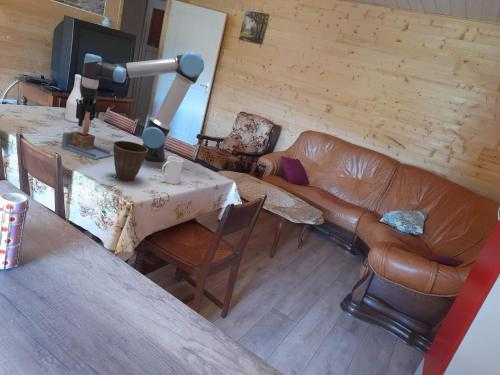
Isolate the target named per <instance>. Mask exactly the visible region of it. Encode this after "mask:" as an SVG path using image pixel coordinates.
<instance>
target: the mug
mask: <svg viewBox="0 0 500 375" xmlns="http://www.w3.org/2000/svg"><path fill="white" fill-rule="evenodd" d="M184 162H185V161H184V159H183V158H181V157H178V156H173V155H170V156H167V158H166V162H165V163H164V164H163V165H162V166H161V167H162V168H161V174H162V181H163V182H165V183H167V184H171V185H178V184H179V183H180V178H181V174H182V171H183V170H182V169H183V164H184Z"/></svg>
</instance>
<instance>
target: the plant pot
mask: <svg viewBox="0 0 500 375" xmlns="http://www.w3.org/2000/svg"><path fill="white" fill-rule="evenodd" d="M147 151H148V149H147V148H146V147H145V146H143V144H140V143H137V142H133V141H130V140H129V141H127V140H117V141H114V142H113V162H114V170H115V174H116V178H117V179H118V180H120V181H123V182H132V181H134V179H135V178H136V176H137V175H138V173H139V172H140V170H141V168H142V166H143V164H144V161H145V157H146V154H147Z"/></svg>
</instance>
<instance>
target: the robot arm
mask: <svg viewBox="0 0 500 375" xmlns="http://www.w3.org/2000/svg"><path fill="white" fill-rule="evenodd" d="M82 68H83V69H82V76H81V85H80V93H81V98H80V99H76V102H77V107H76V118H77V119H79V122H77V124H78V125H77V127H78V129H77V131H78V132H81V133H83V132H84V124H85V121H84V117H85V113H86V111H88V112H90V117H89V124H88V132H87V133H90V130H91V129H90V127H91V124H92V121H94V119H95V118H96V112H97V108H98V107H97V106H98V104H99V100H98V99H96V97H97V96H98V88H99V82H100V81H99V80H100V78H103V79H107V80H109V81H113V82H116V83H122V84H123V83H125V81H126V79H131V78H139V77H140V78H141V77H149V76H157V75H159V76H160V75H166V74H167V75H168V74H175V77H174V80H173V81H172V83H171V85H170V87H169V89H168V91H167V93H166V95H165V96H164V98H163V100H162V101H161V104H160V106H159V107H158V110H157V112H156V114H155V116H154V117H148V120H147V123H146V124H147V125H146V126H145V128H144V130H142V134H141V136H142V137H141V139H142V145H143V146H145V147H146V148H147V149H148V151H147V154H146V157H145V159H144V161H145V160H146V161H149V162H155V163H163V162H164V161H165V160H166V152H165V145H166V139H167V137H168V136H169V133H170V131H171V129H172V128H171V123H172V122H173V120H174V117H175V116H176V114H177V112H178V110H179V108H180V106H181V105H182V102H183V101H184V99H185V97H186V96H187V93H188V91H189V90H190V87H191V86H192V85H195V84H196V83H197V81H198V79H199V78H200V76H201V74H202V73H203V71H204V69H205V60H204V58H203V56H201V54H199V53H198V52H196V51H192V50H191V51H188V52H185V53H183V54H178V55H175V56H174V57H169V58H161V59H151V60H143V61H132V62H127V63H126V62H124V63H115V64H112V63H108V62H104V61H103V58H102V57H101V56H100V55H97V54H96V55H95V54H91V53H86V54H85V56H84V61H83V67H82Z"/></svg>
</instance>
